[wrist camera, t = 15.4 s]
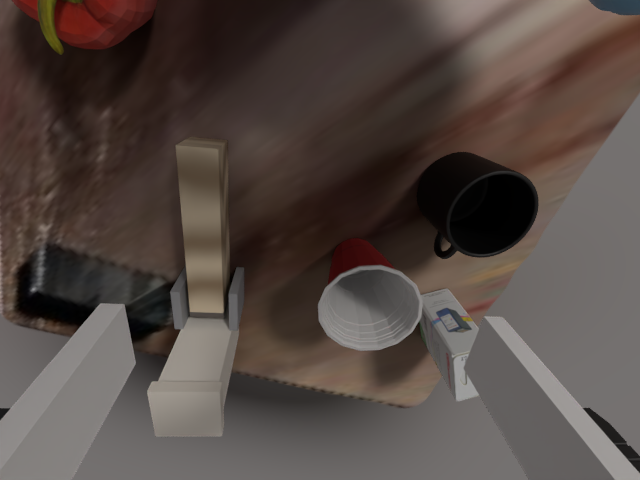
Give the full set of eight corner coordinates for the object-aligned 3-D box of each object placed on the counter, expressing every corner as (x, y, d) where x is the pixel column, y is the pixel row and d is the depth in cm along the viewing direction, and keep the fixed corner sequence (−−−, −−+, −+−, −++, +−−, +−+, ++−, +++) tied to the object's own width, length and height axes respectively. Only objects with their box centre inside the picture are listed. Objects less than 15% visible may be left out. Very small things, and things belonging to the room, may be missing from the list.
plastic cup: (317, 215, 41) (326, 263, 30) (400, 223, 42) (436, 273, 32) (307, 287, 46) (311, 351, 35) (381, 292, 47) (407, 356, 36)
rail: (190, 136, 36) (175, 145, 31) (227, 140, 36) (218, 148, 32) (200, 293, 45) (190, 317, 40) (230, 294, 45) (223, 318, 41)
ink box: (414, 295, 48) (449, 356, 37) (449, 286, 48) (494, 346, 37) (420, 338, 52) (453, 405, 41) (452, 330, 51) (494, 395, 41)
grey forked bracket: (185, 264, 43) (135, 351, 29) (244, 267, 44) (222, 353, 30) (192, 335, 48) (151, 436, 34) (244, 336, 49) (225, 436, 35)
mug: (392, 227, 43) (416, 262, 35) (441, 138, 38) (481, 155, 30) (452, 249, 45) (488, 287, 37) (505, 168, 40) (559, 191, 32)
